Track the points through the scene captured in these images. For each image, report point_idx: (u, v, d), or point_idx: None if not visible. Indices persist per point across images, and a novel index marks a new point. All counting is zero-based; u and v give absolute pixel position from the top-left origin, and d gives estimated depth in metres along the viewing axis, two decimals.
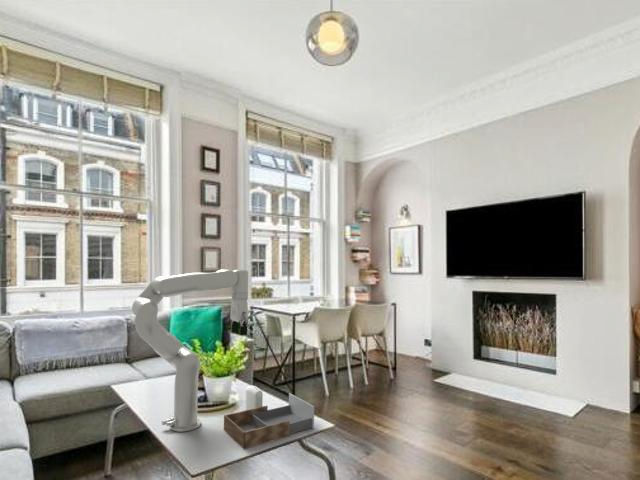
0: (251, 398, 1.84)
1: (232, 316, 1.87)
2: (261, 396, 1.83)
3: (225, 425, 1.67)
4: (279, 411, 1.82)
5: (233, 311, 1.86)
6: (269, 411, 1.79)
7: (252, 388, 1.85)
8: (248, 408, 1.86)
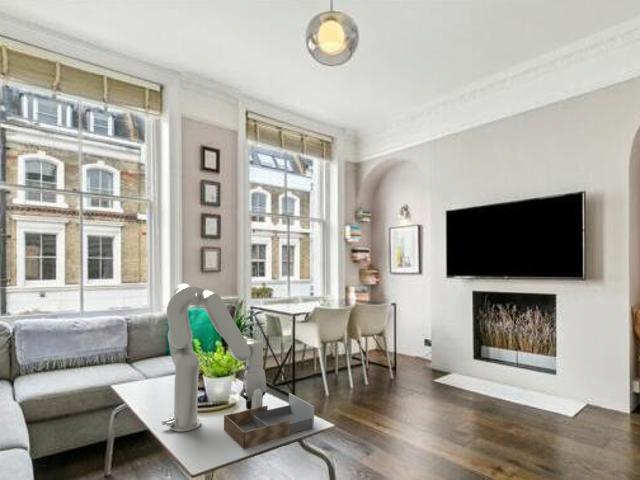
0: (251, 398, 1.84)
1: (253, 390, 1.83)
2: (261, 396, 1.83)
3: (225, 425, 1.67)
4: (279, 411, 1.82)
5: (256, 384, 1.84)
6: (269, 411, 1.79)
7: None
8: None
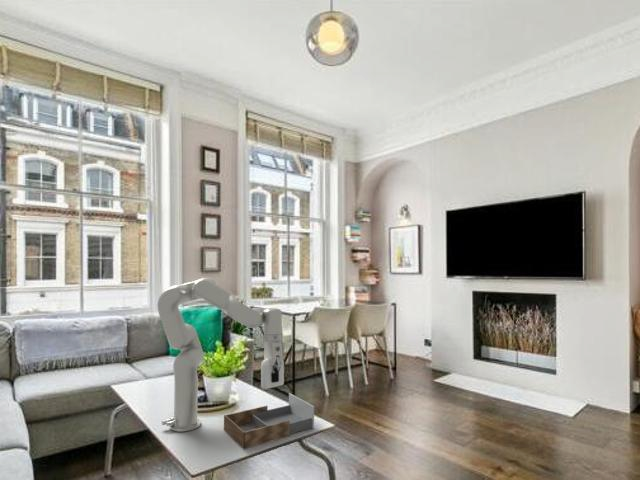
0: None
1: None
2: None
3: (225, 425, 1.67)
4: (279, 411, 1.82)
5: None
6: (269, 411, 1.79)
7: None
8: None
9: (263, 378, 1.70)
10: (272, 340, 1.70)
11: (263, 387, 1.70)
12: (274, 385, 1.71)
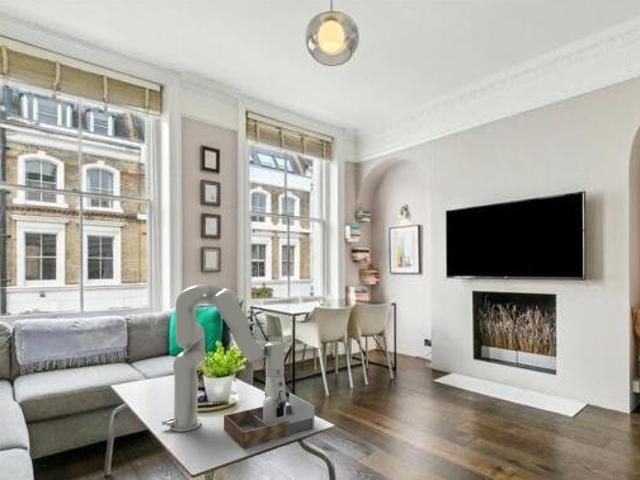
0: None
1: None
2: None
3: (225, 425, 1.67)
4: None
5: None
6: None
7: None
8: (274, 421, 1.68)
9: (265, 417, 1.67)
10: (275, 375, 1.68)
11: None
12: None
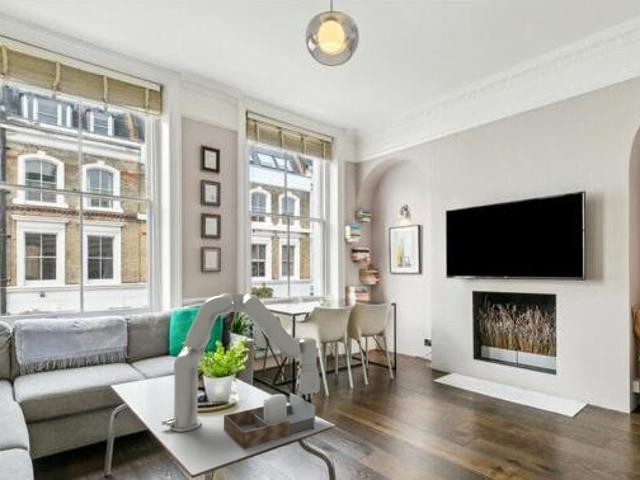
0: (281, 406, 1.70)
1: (308, 389, 1.77)
2: None
3: (225, 425, 1.67)
4: None
5: (310, 383, 1.78)
6: None
7: (278, 396, 1.71)
8: (275, 420, 1.69)
9: (266, 417, 1.67)
10: None
11: None
12: None
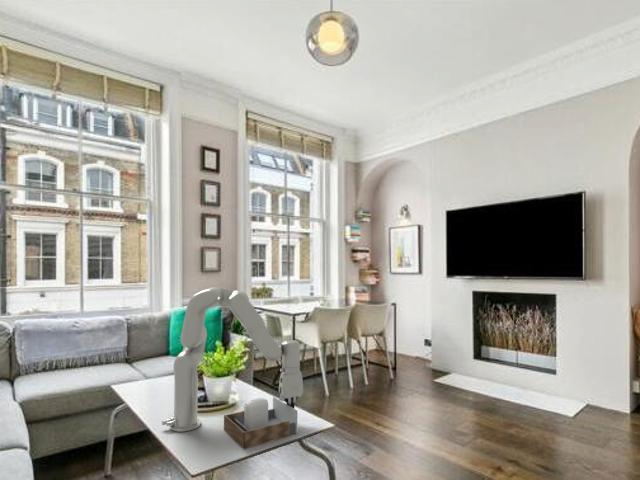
0: (262, 411, 1.65)
1: (291, 393, 1.72)
2: None
3: (225, 425, 1.67)
4: None
5: (293, 387, 1.73)
6: None
7: (259, 400, 1.66)
8: (255, 425, 1.64)
9: (246, 422, 1.62)
10: None
11: None
12: None
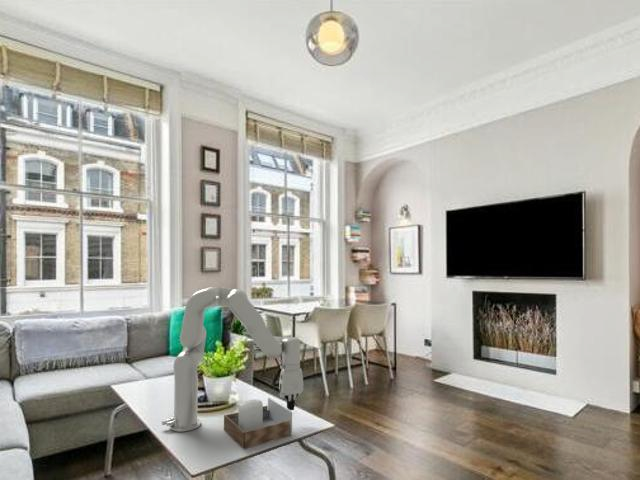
0: (256, 412, 1.64)
1: (291, 390, 1.72)
2: None
3: (225, 425, 1.67)
4: None
5: (293, 384, 1.73)
6: None
7: (253, 402, 1.64)
8: (250, 427, 1.62)
9: (240, 423, 1.61)
10: None
11: None
12: None
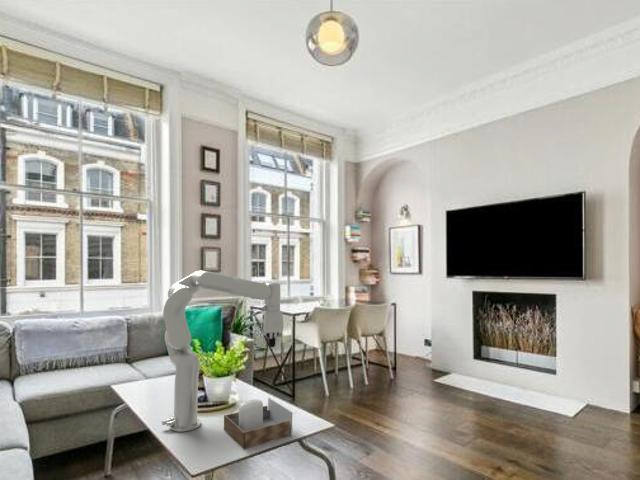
0: (256, 412, 1.64)
1: (272, 328, 1.92)
2: None
3: (225, 425, 1.67)
4: None
5: (274, 323, 1.92)
6: None
7: (253, 402, 1.64)
8: (250, 427, 1.62)
9: (241, 423, 1.61)
10: None
11: None
12: None
